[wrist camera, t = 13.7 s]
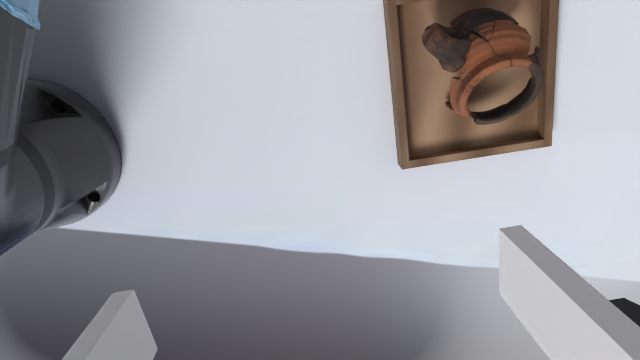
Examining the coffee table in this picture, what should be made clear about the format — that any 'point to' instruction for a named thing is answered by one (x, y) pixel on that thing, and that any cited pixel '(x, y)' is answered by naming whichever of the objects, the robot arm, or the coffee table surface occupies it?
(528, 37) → the pottery mug
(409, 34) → the walnut tray
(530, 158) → the coffee table surface
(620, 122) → the coffee table surface
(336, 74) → the coffee table surface
